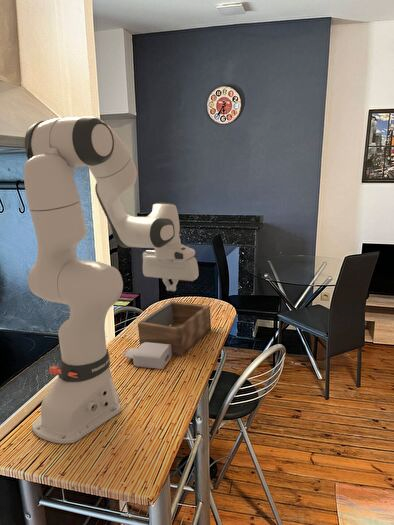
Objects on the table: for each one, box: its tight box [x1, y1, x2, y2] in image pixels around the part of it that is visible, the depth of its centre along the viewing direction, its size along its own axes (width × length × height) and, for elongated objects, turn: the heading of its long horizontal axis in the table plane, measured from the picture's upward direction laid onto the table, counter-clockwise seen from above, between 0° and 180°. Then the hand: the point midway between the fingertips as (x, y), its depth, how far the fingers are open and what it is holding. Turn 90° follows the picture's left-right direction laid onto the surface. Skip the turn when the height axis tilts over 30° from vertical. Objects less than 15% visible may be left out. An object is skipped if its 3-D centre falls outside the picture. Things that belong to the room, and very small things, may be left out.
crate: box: [137, 300, 212, 358], centre depth 139 cm, size 22×16×10 cm
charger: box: [121, 342, 172, 370], centre depth 126 cm, size 5×9×15 cm
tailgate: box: [140, 302, 173, 326], centre depth 142 cm, size 18×1×8 cm, turn 153°
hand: (171, 290), depth 137 cm, fingers closed
